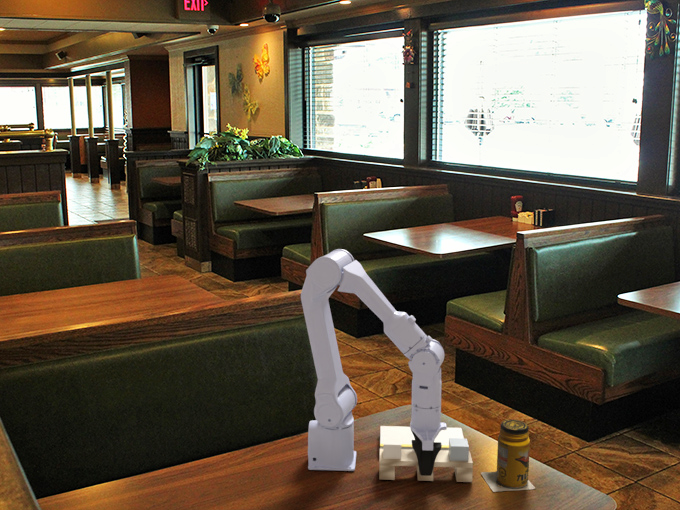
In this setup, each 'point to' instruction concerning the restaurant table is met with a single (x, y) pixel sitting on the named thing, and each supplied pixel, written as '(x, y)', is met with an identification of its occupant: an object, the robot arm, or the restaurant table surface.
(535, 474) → the restaurant table surface
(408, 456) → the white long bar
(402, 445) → the dock
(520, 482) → the condiment
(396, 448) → the block
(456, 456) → the light grey square block
